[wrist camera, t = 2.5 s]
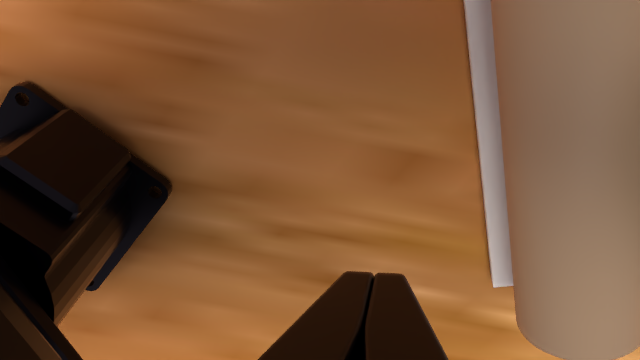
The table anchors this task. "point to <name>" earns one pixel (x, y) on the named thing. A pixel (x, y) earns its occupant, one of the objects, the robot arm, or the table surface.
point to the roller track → (562, 166)
